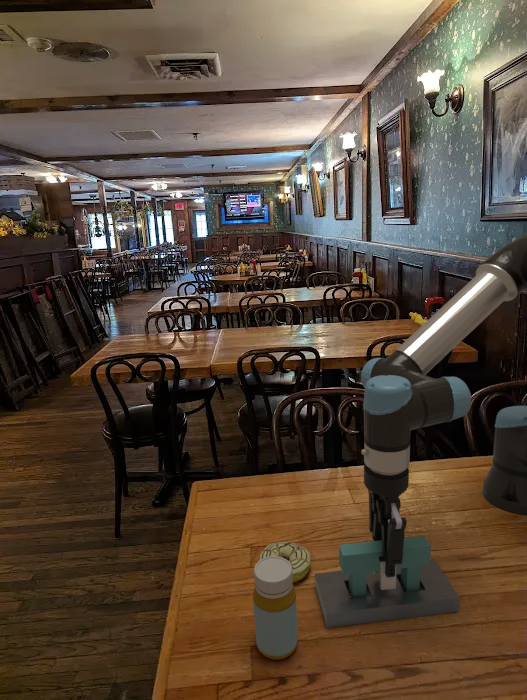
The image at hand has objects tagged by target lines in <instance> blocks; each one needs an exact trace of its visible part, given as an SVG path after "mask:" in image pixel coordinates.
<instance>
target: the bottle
mask: <svg viewBox="0 0 527 700" xmlns="http://www.w3.org/2000/svg"><path fill="white" fill-rule="evenodd" d="M253 576H254V580H253V581H254V588H253V592H252V600H253V601H252V602H253V604H252V605H253V615H254V617H253V618H254V630H255V643H256V648H257V650H258V652H259V653H260V654H262V656H264V657H266V658H268V659H270V660H277V661H279V660H283V659H286V658H287V657H289V656H291V655H292V654H293V653H294V652H295V651H296V649H297V646H298V639H299V638H298V637H299V636H298V614H297V610H298V609H297V594H296V593H297V591H296V588H295V585H294V583H292V581H293V580H292V579H293V576H292V567H291V564H290V562H289V561H288V560H286V559H284V558H282V557H278V556H269V557H265V558H263V559H261V560H260V561H259V560H258V561H257V562H256V563H255V565H254V568H253Z"/></svg>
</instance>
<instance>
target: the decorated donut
mask: <svg viewBox="0 0 527 700" xmlns="http://www.w3.org/2000/svg"><path fill="white" fill-rule="evenodd" d="M269 556H278V557H282V558H284V559H286V560H288V561H289V562H290V564H291V567H292V576H293V579H292V580H293V581H292V583H293V584H295V583H298V582H300V581H301V580H302V579H304V578H305V577H306V576H307V575H308V573H309V571H310V568H311V566H312V563H311V561H312V558H311V553H310V552H309V551H308V549H307V548H305V547H304V546H301V545H300V544H297V543H296V542H291V541H278V542H273V543H270V544H268V545H266V547H264V549H263V550H262V551H261V553H260V554H259V559H258V561H260V560H261V559H263V558H265V557H269Z"/></svg>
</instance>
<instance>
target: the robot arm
mask: <svg viewBox="0 0 527 700" xmlns="http://www.w3.org/2000/svg"><path fill="white" fill-rule="evenodd" d="M523 292H527V234H526V235H522V236H521V237H518V238H517V239H514V240H513V241H511V242H510V243H507V244H506V245H504V246H503V247H501V248H500V249H499V250H497V251H495V253H493V254H492V255H491V256H489V257H488V258H487V259H485V260H484V261H483V262H482V263H481V264H480V265H479V266H478V267H477V269H476V271H475V276H474V277H473V278H472V279H471V280H470V281H468V282H467V284H466V285H464V286H463V287H462V288H461V289H460V290H459V291H458V292H457V293H456V294H455V295H453V297H451V298H450V299H449V300H448V301H447V302H446V303H445V304H444V305H442V306H441V308H440V309H438V310H437V311H436V312H435V313H434V314H433V315H432V316H431V317H430V318H429V319H428V320H427V321H425V322H424V323H423V324H422V325H421V326H420V327H419V328H417V330H416V331H415V332H413V333H412V334H411V335H410V336H409V337H408V338H407V339H406V340H405V341H404V342H403V343H402V344H400V346H398V347H397V348H396V349H395V350H394V351H393V352H392V353H391V354H390V355H388V356H387V357H386V358H384V357H375V358H372V359H370V360H368V361H367V362H366V363H365V364H364V366H363V368H362V370H361V374H360V380H361V381H360V382H361V384H362V386H363V388H364V394H363V396H364V397H363V403H362V405H363V436H364V439H363V441H364V442H363V443H364V444H363V445H364V448H363V449H361V450H360V451H361V455H363V456H364V457H363V458H364V459H363V462H364V465H363V484H364V486H365V488H366V489H367V491H368V522H369V523H368V524H369V526H368V529H369V532H370V533H372V535H371V537H372V540H373V541H380V540H382V556H379V557H378V558H379V561H380V571H374V572H373V573H374V575H375V576H376V575H380V588H381V590H387V589H395V588H396V564H402V560H403V546H404V538H405V530H406V526H407V521H408V520H407V518H406V517H405V516H404V517H401V515H400V509H401V504H402V503H401V499H400V496H401V495H402V494H404V493H405V492H406V491H407V490H408V489H409V484H410V483H409V477H410V469H409V466H410V456H411V455H410V454H411V431H413V430H418V429H421V428H426V427H430V426H434V425H440V424H443V423H450V422H452V421H453V420H457V419H460V418H462V417H465V416H466V415H467V414H468V412H469V411H470V410H471V406H472V393H471V391H470V389H469V387H468V385H467V384H466V382H465V381H463V380H462V379H461V378H459V377H457V376H441V377H439V378H434V377H431V376H430V375H429V376H428V375H427V374H428V373H429V372H430V371H431V370H433V368H434V367H435V366H436V365H437V364H439V363H440V362H441V361H442V360H443V359H444V358H445V357H446V356H447V355H449V353H450V352H452V350H454V348H456V347H457V346H458V345H459V344H460V343H461V342H462V341H463V340H464V339H465V338H466V337H467V336H468V335H470V333H472V332H473V331H474V330H475V329H476V328H477V327H478V326H479V325H480V324H481V323H482V322H483V321H484V320H485V319H486V318H487V317H488V316H489V315H491V313H493V312H494V311H495V310H496V309H498V307H499V306H500V305H501V304H502V303H504V302H509V301H512V300H514V299H515V298H517V296H519V294H521V293H523ZM482 485H483V486H482V494H483V496H484V498H485V499H486V501H488V502H489V503H491V504H492V505H494V506H495V507H497V508H500V509H502V510H504V511H508V512H511V513H515V514H521V515H527V405H513V406H507V407H504V408H502V409H500V410H499V411H498V412H497V415H496V418H495V424H494V435H493V453H492V463H491V466H490V468H489V471H487V475H486V477H485V479H484V480H483V484H482Z"/></svg>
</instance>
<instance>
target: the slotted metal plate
mask: <svg viewBox="0 0 527 700" xmlns="http://www.w3.org/2000/svg"><path fill="white" fill-rule="evenodd" d="M314 587H315V591H316V595H317V598H318V603H319V605H320V609H321V612H322V615H323V619H324V622H325V627H326V629H328V628H329V629H330V628H339V627H345V626H354V625H361V624H371V623H379V622H387V621H396V620H403V619H410V618H417V617H426V616H427V617H428V616H434V615H436V616H437V615H443V614H450V613H452V614H453V613H459V612H460V600H461V598H460V596H459V594H458V593H457V591H456V590H455V588H454V586H453V585H452V583H450V581H449V579H448V578H447V576H446V575H445V573H444V572H443V569H442V568H441V567H440V564H438V562H437V561H436V559H430V565H427V566H420V591H412V592H405V591H404V589H403V587H402V585H401V569H396V588H395V589H387V590H381V588H380V575H376V576H375V575H374V573H373V572H366V597H362V598H353V599H352V598H351V595H350V591H349V574H348V575H343V573H342V570H336V571H335V570H334V571H326V572H317V573H314Z"/></svg>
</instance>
